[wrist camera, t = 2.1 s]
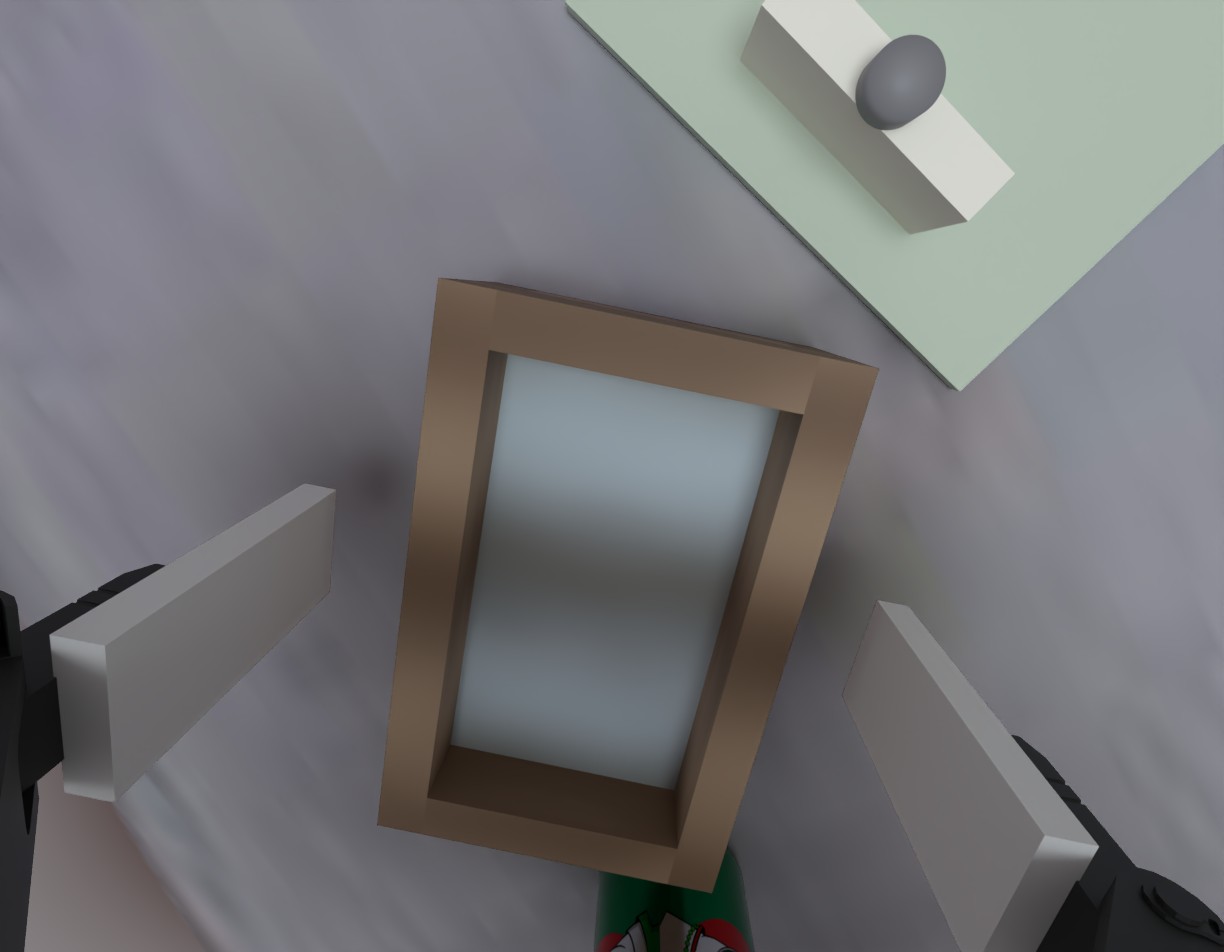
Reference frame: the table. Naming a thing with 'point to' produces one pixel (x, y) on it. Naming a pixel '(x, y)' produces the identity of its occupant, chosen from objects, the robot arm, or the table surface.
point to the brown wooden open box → (604, 575)
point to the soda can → (673, 915)
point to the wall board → (940, 137)
